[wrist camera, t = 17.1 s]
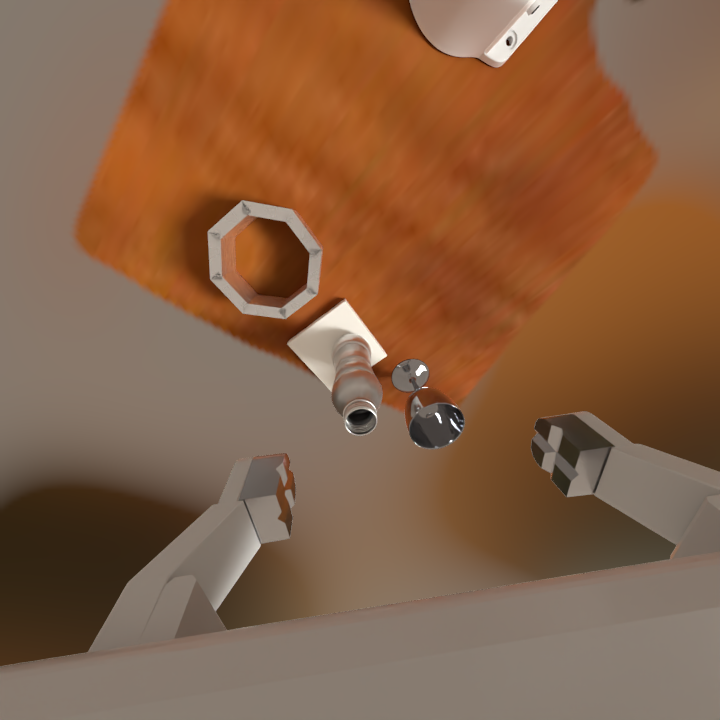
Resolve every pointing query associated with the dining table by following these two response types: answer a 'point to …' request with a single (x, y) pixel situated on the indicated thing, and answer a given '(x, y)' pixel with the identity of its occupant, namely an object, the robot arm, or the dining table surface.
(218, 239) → the steel collar
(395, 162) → the dining table surface
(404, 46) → the dining table surface
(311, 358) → the ceramic pad
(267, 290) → the dining table surface
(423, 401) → the wine glass
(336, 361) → the plastic bottle
